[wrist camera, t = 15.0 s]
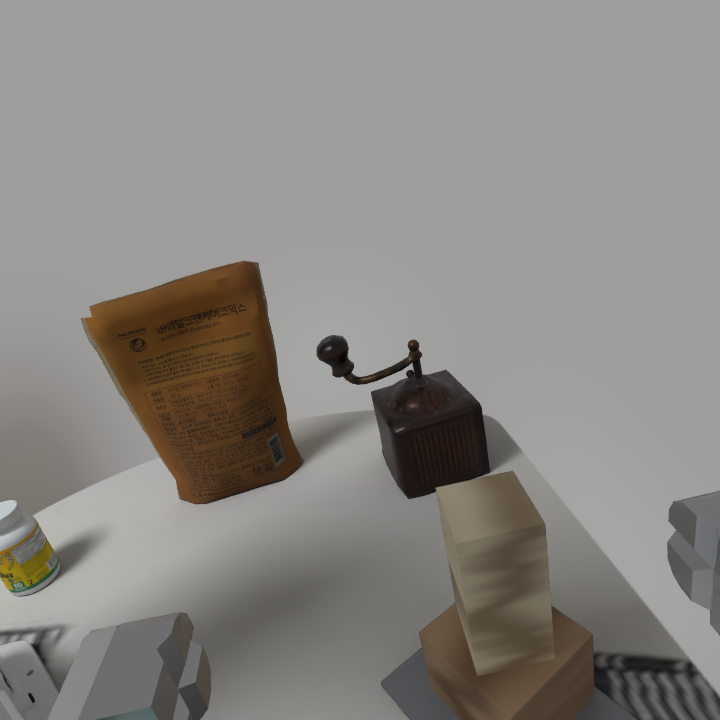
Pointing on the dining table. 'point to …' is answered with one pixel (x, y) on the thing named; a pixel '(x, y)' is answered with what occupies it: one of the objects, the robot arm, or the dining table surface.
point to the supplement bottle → (24, 552)
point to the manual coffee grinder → (420, 422)
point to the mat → (434, 716)
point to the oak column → (498, 571)
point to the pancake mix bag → (201, 379)
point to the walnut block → (510, 674)
